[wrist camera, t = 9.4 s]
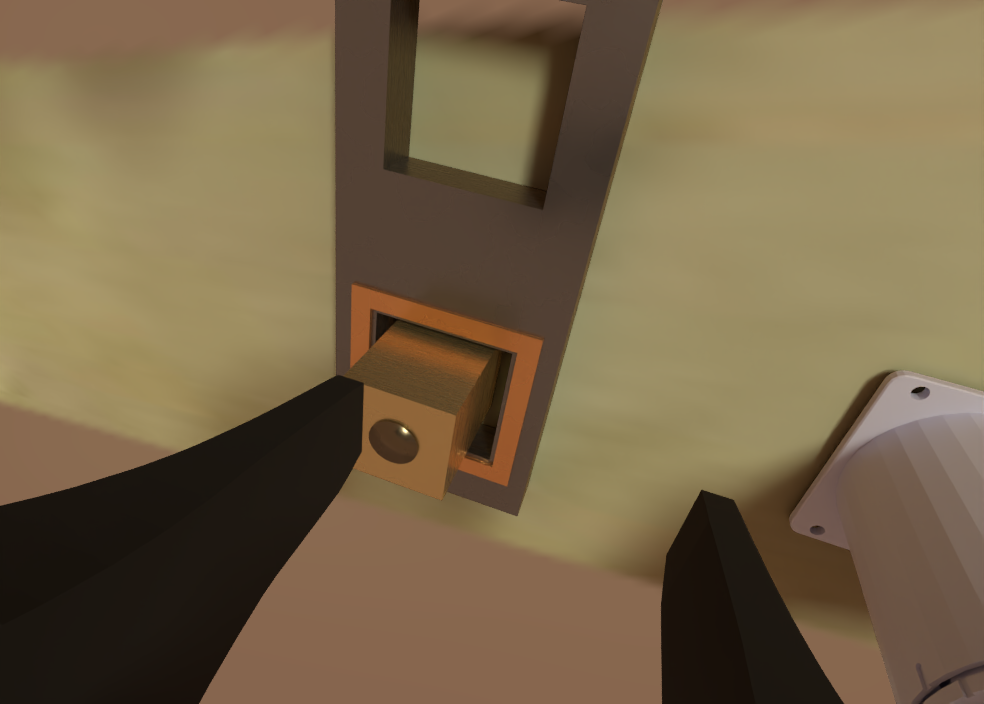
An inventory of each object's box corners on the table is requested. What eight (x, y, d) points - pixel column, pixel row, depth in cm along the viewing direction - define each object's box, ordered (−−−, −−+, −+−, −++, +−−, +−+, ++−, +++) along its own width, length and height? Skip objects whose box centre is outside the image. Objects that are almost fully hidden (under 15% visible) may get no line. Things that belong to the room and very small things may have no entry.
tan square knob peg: (507, 327, 22) (454, 417, 17) (492, 403, 24) (441, 502, 19) (416, 300, 23) (340, 378, 18) (409, 376, 25) (339, 465, 20)
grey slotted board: (692, -107, 14) (692, -125, 12) (527, 485, 26) (516, 519, 24) (372, -155, 16) (331, -177, 14) (357, 426, 28) (334, 454, 26)
